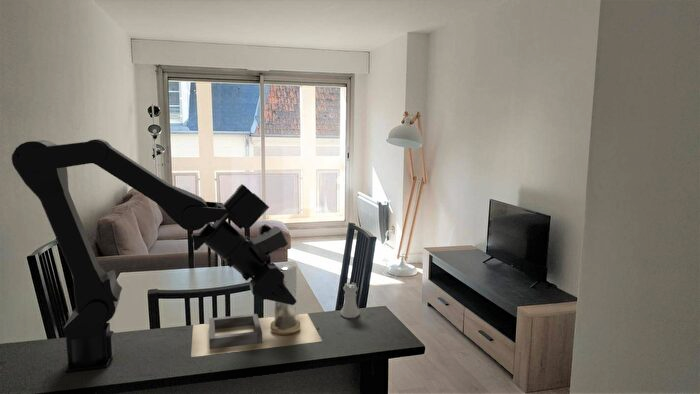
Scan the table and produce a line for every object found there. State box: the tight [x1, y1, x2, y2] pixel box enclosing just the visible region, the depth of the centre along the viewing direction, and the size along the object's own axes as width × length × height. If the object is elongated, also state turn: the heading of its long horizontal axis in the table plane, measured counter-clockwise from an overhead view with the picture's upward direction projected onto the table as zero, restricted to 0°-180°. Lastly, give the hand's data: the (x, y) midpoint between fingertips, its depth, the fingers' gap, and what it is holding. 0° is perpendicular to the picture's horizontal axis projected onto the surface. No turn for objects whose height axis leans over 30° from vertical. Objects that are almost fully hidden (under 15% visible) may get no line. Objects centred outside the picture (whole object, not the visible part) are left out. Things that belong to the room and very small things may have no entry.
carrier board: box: [190, 313, 323, 358], centre depth 91 cm, size 24×14×3 cm, turn 107°
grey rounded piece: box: [271, 264, 300, 336], centre depth 92 cm, size 6×6×13 cm
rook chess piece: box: [340, 281, 361, 319], centre depth 101 cm, size 4×4×8 cm
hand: (289, 295), depth 92 cm, fingers open, 9 cm apart
